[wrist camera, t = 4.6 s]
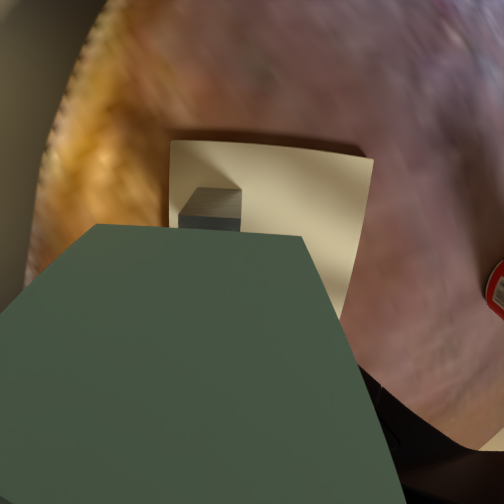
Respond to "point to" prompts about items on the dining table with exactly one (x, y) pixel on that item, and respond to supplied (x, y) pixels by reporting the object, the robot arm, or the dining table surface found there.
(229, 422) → the teal rectangular block
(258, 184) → the board
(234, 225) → the post
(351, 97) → the dining table surface
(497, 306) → the beverage can
